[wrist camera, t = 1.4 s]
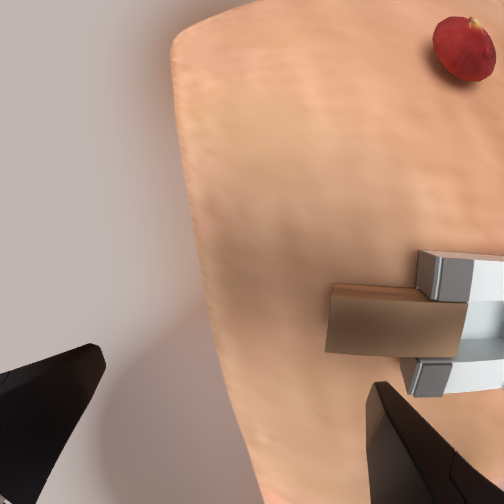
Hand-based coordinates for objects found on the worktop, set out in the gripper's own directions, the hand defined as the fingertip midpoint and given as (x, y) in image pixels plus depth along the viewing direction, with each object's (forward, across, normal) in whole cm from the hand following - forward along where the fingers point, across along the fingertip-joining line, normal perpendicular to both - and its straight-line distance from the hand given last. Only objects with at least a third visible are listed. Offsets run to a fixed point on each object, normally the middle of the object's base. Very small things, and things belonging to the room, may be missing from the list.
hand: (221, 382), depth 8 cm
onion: (+17, -17, -17) cm, 30 cm away
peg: (+13, -10, +4) cm, 17 cm away
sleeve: (+12, -19, +4) cm, 23 cm away
